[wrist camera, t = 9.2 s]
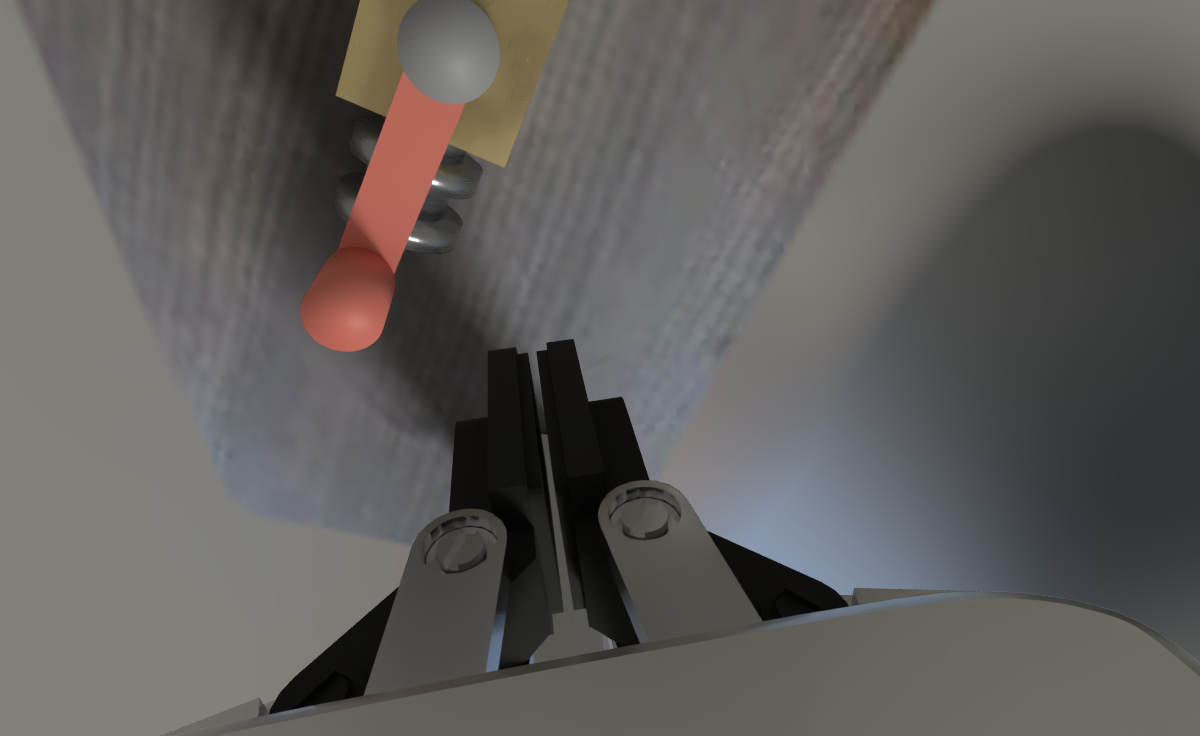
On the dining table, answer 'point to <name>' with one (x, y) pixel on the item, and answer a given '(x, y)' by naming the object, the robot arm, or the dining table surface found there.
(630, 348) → the dining table surface
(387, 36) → the valve
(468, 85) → the lever
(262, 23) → the dining table surface
